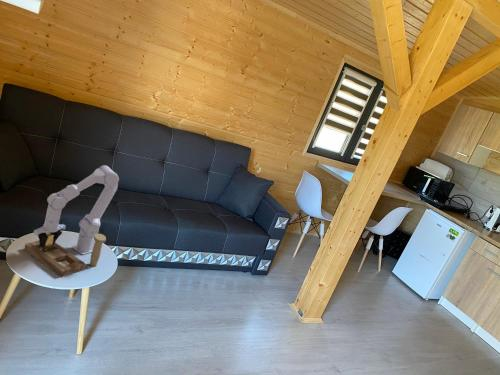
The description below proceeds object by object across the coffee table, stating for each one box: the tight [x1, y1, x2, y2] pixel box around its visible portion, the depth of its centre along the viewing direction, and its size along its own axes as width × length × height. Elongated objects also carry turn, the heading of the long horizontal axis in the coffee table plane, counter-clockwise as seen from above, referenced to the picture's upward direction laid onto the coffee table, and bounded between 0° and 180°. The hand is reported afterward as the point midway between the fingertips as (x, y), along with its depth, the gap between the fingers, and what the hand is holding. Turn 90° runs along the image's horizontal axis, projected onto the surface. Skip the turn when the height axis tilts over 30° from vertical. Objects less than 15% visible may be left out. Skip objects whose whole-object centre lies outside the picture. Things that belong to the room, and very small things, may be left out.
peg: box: [40, 232, 55, 252], centre depth 176 cm, size 4×4×10 cm
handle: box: [89, 233, 107, 267], centre depth 179 cm, size 5×6×15 cm
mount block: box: [24, 240, 86, 278], centre depth 174 cm, size 12×26×3 cm, turn 62°
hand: (46, 245), depth 176 cm, fingers closed on peg, 4 cm apart
